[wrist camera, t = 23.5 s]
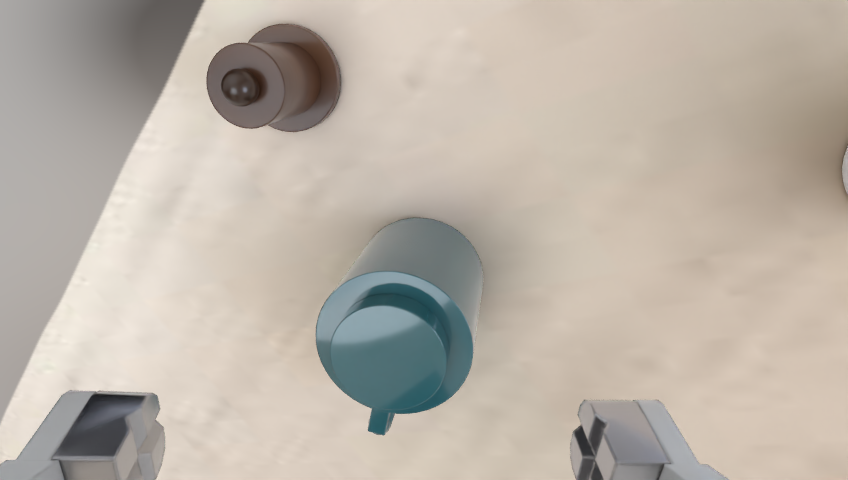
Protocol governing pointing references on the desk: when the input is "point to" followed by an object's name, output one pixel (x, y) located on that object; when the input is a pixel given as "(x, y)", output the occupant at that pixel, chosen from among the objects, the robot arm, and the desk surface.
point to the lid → (275, 80)
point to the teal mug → (403, 320)
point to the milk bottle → (845, 170)
